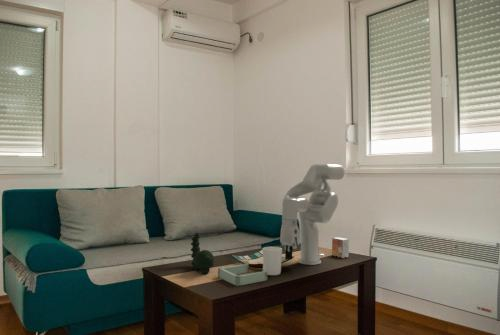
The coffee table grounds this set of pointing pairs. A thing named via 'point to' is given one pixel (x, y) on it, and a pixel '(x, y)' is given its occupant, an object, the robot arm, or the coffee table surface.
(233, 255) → the coffee table surface
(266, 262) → the candle holder
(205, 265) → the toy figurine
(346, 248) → the small box
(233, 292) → the coffee table surface
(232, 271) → the tray
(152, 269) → the coffee table surface
